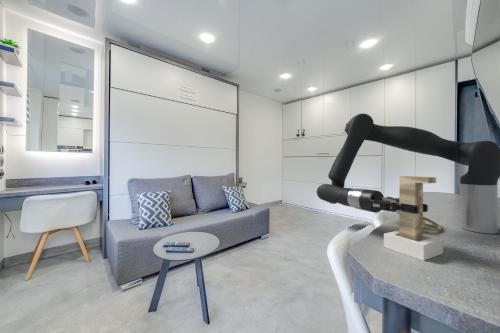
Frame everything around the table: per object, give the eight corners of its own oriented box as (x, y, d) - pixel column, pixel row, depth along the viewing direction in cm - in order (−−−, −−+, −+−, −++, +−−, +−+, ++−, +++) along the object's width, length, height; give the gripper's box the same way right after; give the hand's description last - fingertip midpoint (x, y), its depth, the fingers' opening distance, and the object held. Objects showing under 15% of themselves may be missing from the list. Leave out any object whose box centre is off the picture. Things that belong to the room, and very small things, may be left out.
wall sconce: (443, 222, 68) (370, 188, 87) (429, 244, 71) (361, 207, 90) (451, 216, 76) (382, 187, 95) (438, 237, 79) (374, 204, 98)
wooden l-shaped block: (407, 234, 61) (407, 176, 61) (436, 242, 55) (436, 177, 55) (399, 236, 59) (399, 176, 59) (428, 245, 53) (428, 177, 53)
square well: (403, 241, 65) (403, 229, 65) (443, 253, 56) (442, 238, 56) (383, 246, 61) (383, 233, 61) (423, 260, 52) (423, 245, 52)
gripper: (351, 190, 68) (408, 197, 53) (377, 188, 74) (436, 194, 59) (351, 212, 68) (408, 225, 53) (377, 208, 74) (435, 219, 59)
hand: (422, 209), depth 56 cm, fingers closed on wooden l-shaped block, 4 cm apart
